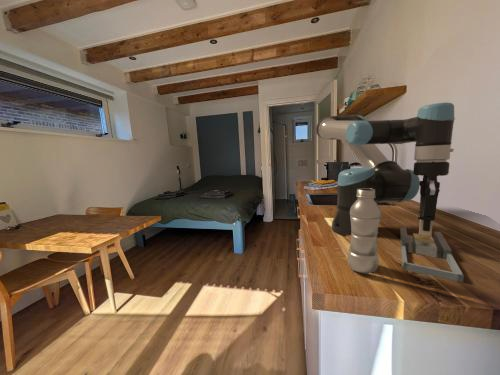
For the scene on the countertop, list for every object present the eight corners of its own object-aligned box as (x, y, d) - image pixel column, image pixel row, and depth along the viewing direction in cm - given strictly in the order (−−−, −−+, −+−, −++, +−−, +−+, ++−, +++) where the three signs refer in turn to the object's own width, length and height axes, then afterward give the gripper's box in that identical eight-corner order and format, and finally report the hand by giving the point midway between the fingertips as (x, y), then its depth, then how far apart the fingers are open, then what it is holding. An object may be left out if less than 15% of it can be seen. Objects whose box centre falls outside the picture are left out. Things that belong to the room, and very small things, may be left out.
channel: (401, 253, 56) (401, 242, 56) (399, 236, 68) (400, 226, 68) (450, 263, 50) (451, 250, 50) (439, 242, 63) (440, 232, 62)
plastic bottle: (341, 264, 52) (344, 188, 49) (366, 262, 52) (370, 186, 50) (357, 278, 45) (360, 192, 43) (385, 276, 46) (390, 190, 43)
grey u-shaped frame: (402, 271, 47) (403, 262, 47) (401, 253, 56) (401, 245, 56) (462, 286, 42) (463, 275, 41) (450, 263, 50) (451, 254, 50)
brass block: (413, 247, 58) (414, 237, 57) (412, 242, 61) (413, 233, 61) (433, 251, 55) (434, 240, 55) (430, 245, 59) (431, 235, 58)
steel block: (415, 253, 54) (416, 244, 54) (413, 247, 58) (414, 239, 57) (436, 257, 52) (437, 247, 52) (433, 251, 55) (434, 242, 55)
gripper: (456, 161, 49) (446, 251, 53) (444, 160, 60) (437, 235, 63) (416, 162, 54) (410, 245, 57) (412, 161, 64) (407, 231, 67)
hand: (424, 240), depth 60 cm, fingers closed
